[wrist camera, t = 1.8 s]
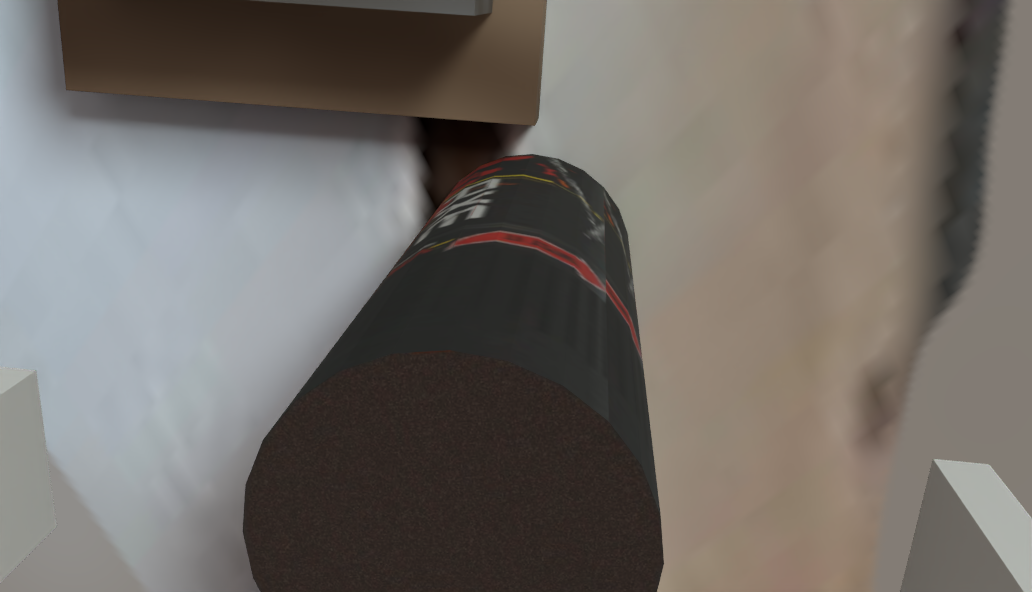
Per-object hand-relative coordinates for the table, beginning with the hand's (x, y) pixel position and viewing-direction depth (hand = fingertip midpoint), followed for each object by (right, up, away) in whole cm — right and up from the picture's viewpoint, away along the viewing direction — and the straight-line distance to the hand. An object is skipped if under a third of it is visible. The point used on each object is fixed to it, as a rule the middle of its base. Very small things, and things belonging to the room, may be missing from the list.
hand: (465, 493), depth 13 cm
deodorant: (+1, +4, +14) cm, 14 cm away
